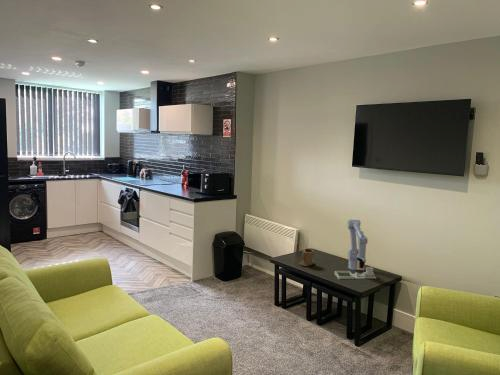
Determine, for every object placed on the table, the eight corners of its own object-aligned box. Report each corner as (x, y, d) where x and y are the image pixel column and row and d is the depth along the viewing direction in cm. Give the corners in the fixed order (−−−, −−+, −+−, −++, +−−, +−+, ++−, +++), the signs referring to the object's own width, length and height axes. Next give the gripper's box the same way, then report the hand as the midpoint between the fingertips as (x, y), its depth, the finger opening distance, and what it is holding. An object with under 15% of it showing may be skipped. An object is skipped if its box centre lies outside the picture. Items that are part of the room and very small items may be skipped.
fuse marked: (357, 268, 319) (357, 260, 318) (363, 268, 319) (363, 260, 318) (358, 269, 316) (358, 261, 315) (364, 270, 316) (364, 261, 315)
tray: (334, 274, 324) (334, 271, 324) (349, 274, 325) (349, 271, 324) (338, 280, 311) (339, 276, 311) (354, 280, 312) (354, 276, 311)
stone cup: (306, 268, 336) (307, 252, 334) (297, 264, 346) (297, 248, 344) (318, 265, 346) (319, 249, 343) (309, 261, 355) (309, 245, 353)
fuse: (365, 275, 320) (366, 267, 319) (371, 275, 321) (371, 267, 320) (366, 276, 317) (367, 268, 316) (372, 276, 318) (373, 268, 317)
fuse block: (351, 274, 323) (351, 270, 323) (372, 274, 324) (372, 270, 324) (355, 279, 313) (355, 275, 313) (376, 279, 314) (376, 275, 314)
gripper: (354, 248, 322) (353, 264, 324) (360, 254, 308) (359, 270, 310) (362, 248, 323) (361, 264, 325) (368, 254, 309) (367, 270, 311)
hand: (360, 267), depth 318 cm, fingers closed on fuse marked, 3 cm apart
